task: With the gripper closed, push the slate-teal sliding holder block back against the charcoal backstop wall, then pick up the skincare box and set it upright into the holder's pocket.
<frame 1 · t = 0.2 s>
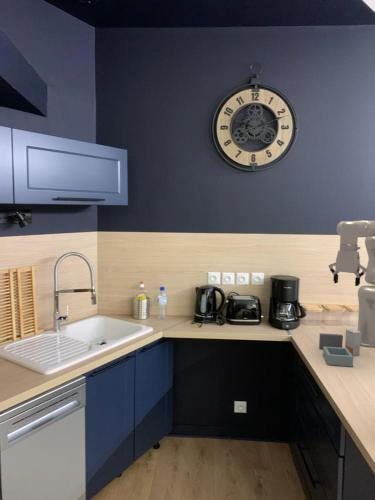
hand: (346, 284, 183), 37 cm above the worktop, tool pointing down, fingers open, 9 cm apart
skincare box: (352, 354, 195), on the worktop
holder: (337, 356, 185), point 3 cm above the worktop, slide at 9.0 cm
backstop wall: (330, 349, 201), on the worktop
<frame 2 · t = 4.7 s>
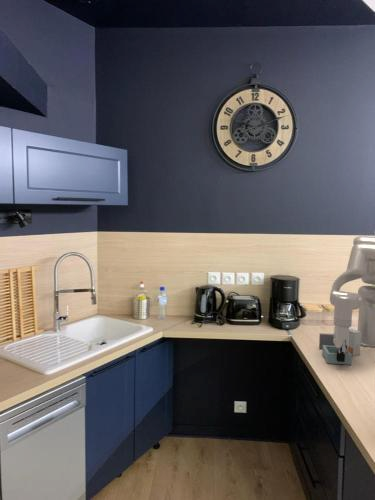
hand: (340, 361, 179), 2 cm above the worktop, tool pointing down, fingers closed
holder: (336, 354, 187), point 3 cm above the worktop, slide at 7.0 cm, touching gripper
everything else where it was.
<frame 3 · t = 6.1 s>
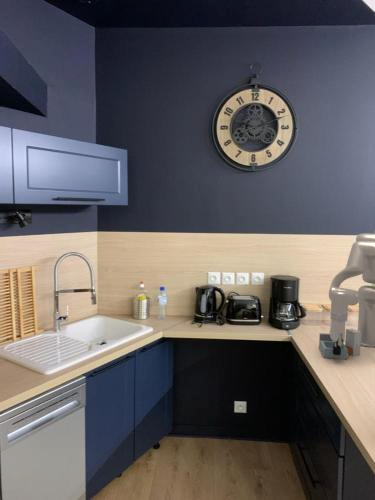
hand: (336, 354, 186), 3 cm above the worktop, tool pointing down, fingers closed
holder: (333, 349, 194), point 3 cm above the worktop, slide at -0.2 cm, touching backstop wall, gripper
everything else where it was.
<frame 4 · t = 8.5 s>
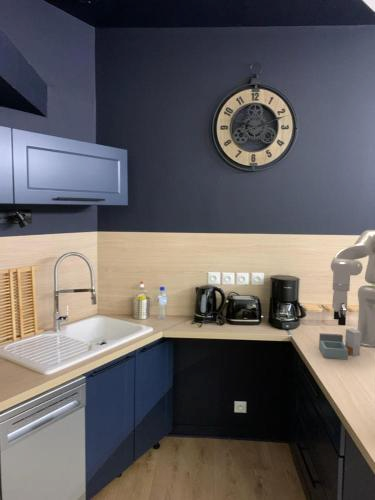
hand: (339, 322, 186), 18 cm above the worktop, tool pointing down, fingers open, 9 cm apart
holder: (333, 349, 194), point 3 cm above the worktop, slide at -0.2 cm, touching backstop wall
everything else where it was.
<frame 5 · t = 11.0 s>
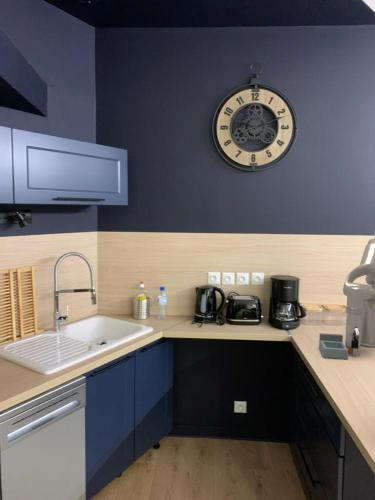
hand: (352, 345, 195), 4 cm above the worktop, tool pointing down, fingers closed on skincare box, 7 cm apart
skincare box: (352, 354, 195), on the worktop, touching gripper
everything else where it was.
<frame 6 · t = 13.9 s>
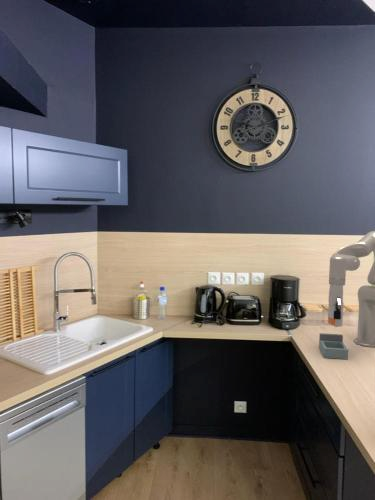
hand: (335, 316, 192), 19 cm above the worktop, tool pointing down, fingers closed on skincare box, 7 cm apart
skincare box: (334, 325, 192), point 15 cm above the worktop, touching gripper
everything else where it was.
when the fingers open (6 cm above the worktop, at t = 16.7 s): skincare box stays where it is, resting on holder.
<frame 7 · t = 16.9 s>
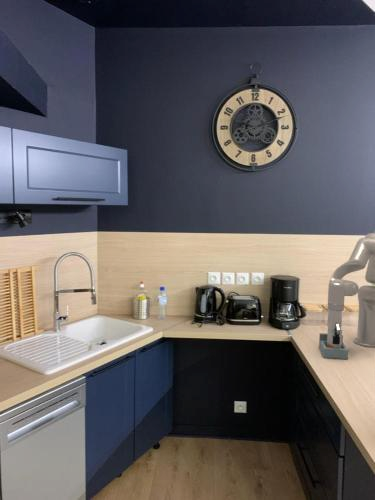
hand: (333, 340, 193), 7 cm above the worktop, tool pointing down, fingers open, 8 cm apart
skincare box: (333, 352, 194), point 1 cm above the worktop, touching holder
holder: (333, 349, 194), point 3 cm above the worktop, slide at -0.1 cm, touching skincare box
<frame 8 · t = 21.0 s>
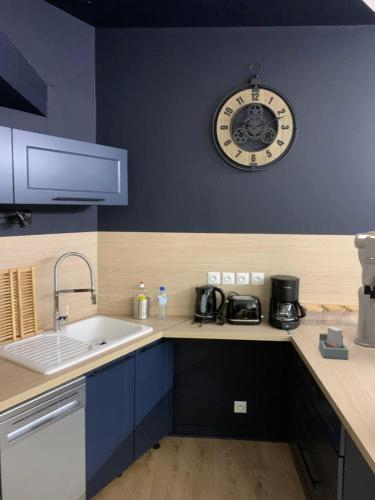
hand: (370, 296, 188), 30 cm above the worktop, tool pointing down, fingers open, 9 cm apart
nothing on the worktop moved.
at the end: holder slide at -0.2 cm; skincare box 0.6 cm from the target spot, point 1.1 cm above the worktop; skincare box tilted 0° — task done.
